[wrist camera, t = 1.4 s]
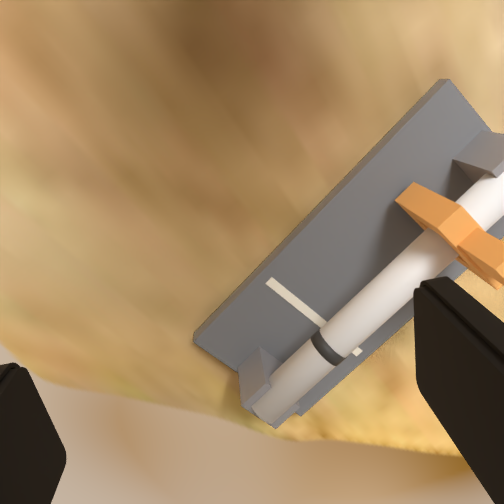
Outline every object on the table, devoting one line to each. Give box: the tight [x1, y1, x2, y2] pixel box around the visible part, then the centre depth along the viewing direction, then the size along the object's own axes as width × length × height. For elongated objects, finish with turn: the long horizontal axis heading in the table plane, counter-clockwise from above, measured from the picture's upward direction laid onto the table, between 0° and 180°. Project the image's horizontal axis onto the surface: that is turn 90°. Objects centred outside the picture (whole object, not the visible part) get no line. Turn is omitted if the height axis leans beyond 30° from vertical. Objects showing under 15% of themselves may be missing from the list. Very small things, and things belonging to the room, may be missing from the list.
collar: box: [395, 182, 504, 290], centre depth 30 cm, size 2×7×11 cm, turn 47°
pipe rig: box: [193, 79, 504, 429], centre depth 35 cm, size 30×14×8 cm, turn 137°
